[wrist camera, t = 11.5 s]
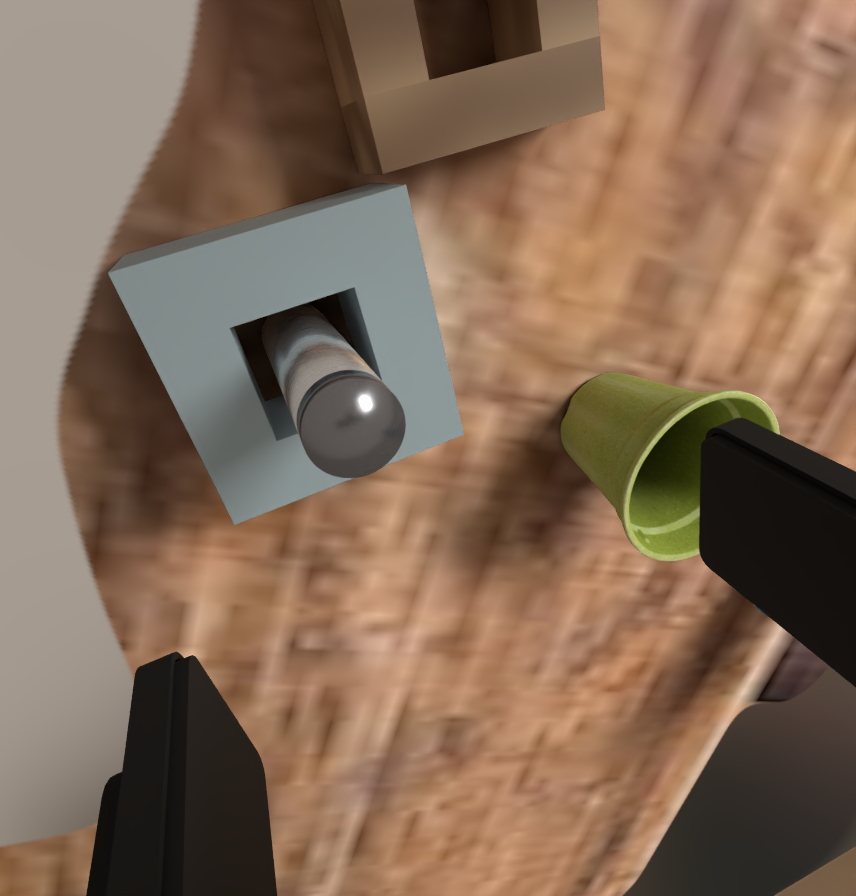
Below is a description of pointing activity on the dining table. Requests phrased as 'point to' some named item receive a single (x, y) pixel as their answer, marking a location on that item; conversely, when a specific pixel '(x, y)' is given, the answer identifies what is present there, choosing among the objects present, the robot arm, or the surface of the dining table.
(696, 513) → the plant pot
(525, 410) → the dining table surface
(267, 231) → the dock block
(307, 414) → the pin
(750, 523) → the robot arm
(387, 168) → the mount block
